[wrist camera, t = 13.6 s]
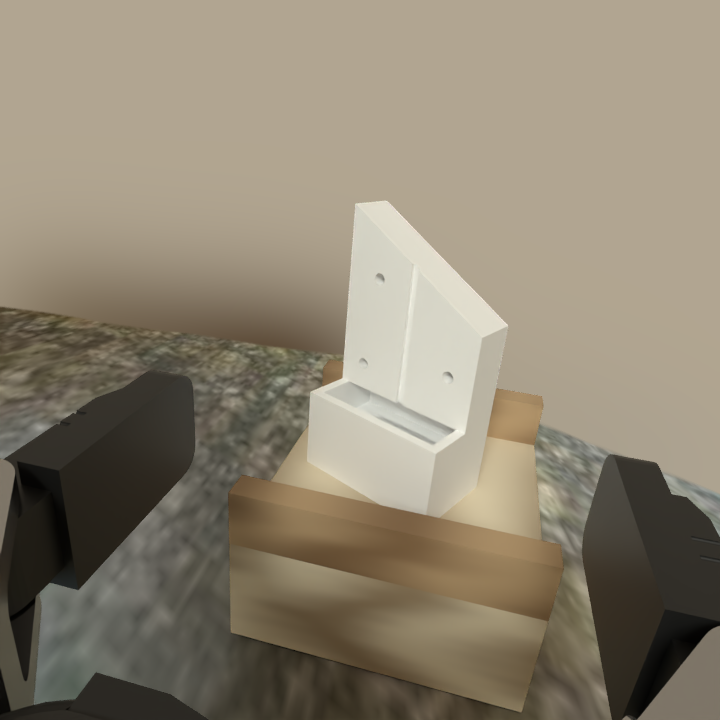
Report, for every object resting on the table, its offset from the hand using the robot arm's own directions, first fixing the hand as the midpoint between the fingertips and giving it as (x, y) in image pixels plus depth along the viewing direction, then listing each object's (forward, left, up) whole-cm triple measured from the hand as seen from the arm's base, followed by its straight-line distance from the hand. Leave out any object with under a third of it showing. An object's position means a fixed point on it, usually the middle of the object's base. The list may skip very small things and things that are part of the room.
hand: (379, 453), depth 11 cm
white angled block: (-1, +10, -7) cm, 12 cm away
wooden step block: (0, +10, -11) cm, 15 cm away
